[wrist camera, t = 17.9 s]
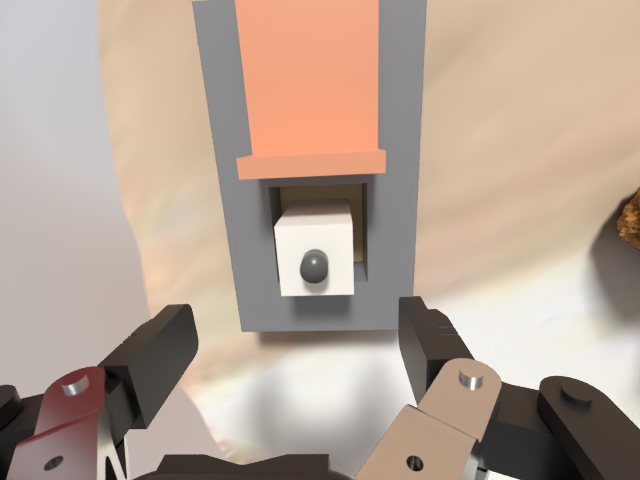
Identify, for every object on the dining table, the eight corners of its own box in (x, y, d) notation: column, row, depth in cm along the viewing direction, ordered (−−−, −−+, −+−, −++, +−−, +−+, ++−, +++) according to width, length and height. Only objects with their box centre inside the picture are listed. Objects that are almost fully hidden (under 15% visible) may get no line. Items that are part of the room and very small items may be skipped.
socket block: (400, 300, 25) (411, 329, 22) (255, 303, 26) (241, 331, 22) (409, 12, 19) (427, -19, 15) (219, 27, 20) (191, 1, 16)
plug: (347, 198, 22) (353, 230, 15) (349, 250, 24) (355, 305, 16) (292, 200, 23) (269, 233, 15) (297, 251, 24) (277, 307, 16)
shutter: (376, 166, 18) (385, 172, 15) (257, 171, 18) (238, 179, 15) (377, -11, 15) (388, -53, 12) (238, 1, 16) (210, -37, 12)
